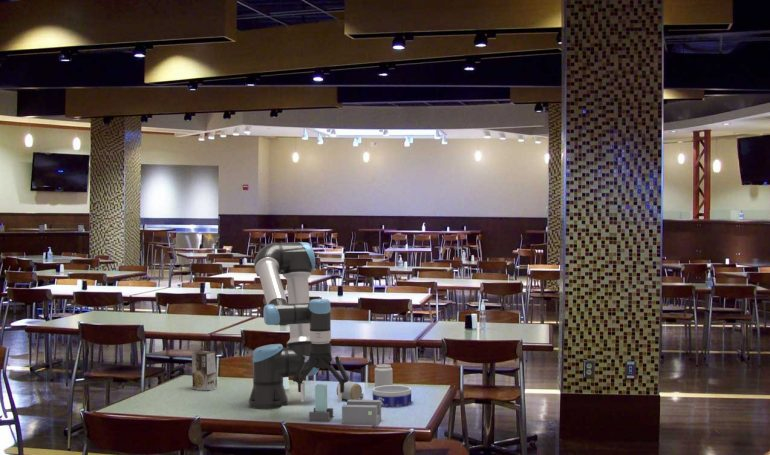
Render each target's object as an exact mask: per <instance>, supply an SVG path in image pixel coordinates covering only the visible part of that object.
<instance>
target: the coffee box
mask: <svg viewBox="0 0 770 455" xmlns="http://www.w3.org/2000/svg"><path fill="white" fill-rule="evenodd" d="M217 358H218V356H217V352H216V351H208V350H200V351H195V352H191V369H192V370H191V371H192V372H191V373H192V390H193V389H197V390H196V391H202V390H210V391H212V390H211V389H215V388H217V389H218V373H217V372H218V367H217V364H218V363H217V362H218V360H217ZM215 390H216V389H215Z"/></svg>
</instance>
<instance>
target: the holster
mask: <svg viewBox="0 0 770 455" xmlns="http://www.w3.org/2000/svg"><path fill="white" fill-rule="evenodd" d="M308 414H309V415H308V416H309V417H308V420H307V422H309V423H310V422H311V423H312V422H313V423H314V422H317V423H318V422H319V423H322V422H323V423H330V422H331V421H332V420H333V419H334V418H335V417H336V415H334V408H333V407H327V410H326V412H316V411H315V407H313V411H309V413H308Z"/></svg>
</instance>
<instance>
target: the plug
mask: <svg viewBox="0 0 770 455" xmlns="http://www.w3.org/2000/svg"><path fill="white" fill-rule="evenodd" d="M314 406H315V407H314V408H315V411H316V412H326V410H327V408H328V384H327V383H325V384H324V383H323V384H321V383H317V384H316V385H315V386H314Z"/></svg>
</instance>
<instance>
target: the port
mask: <svg viewBox="0 0 770 455" xmlns="http://www.w3.org/2000/svg"><path fill="white" fill-rule="evenodd" d="M341 417H342V418H341V421H342V422H341V424H342V425H370V426H371V425H372V426H371V428H377V427H378V425H379V424H380V422H381V421H382V407H381V400H373V399H358V400H346V404H343V405H342V406H341Z"/></svg>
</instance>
